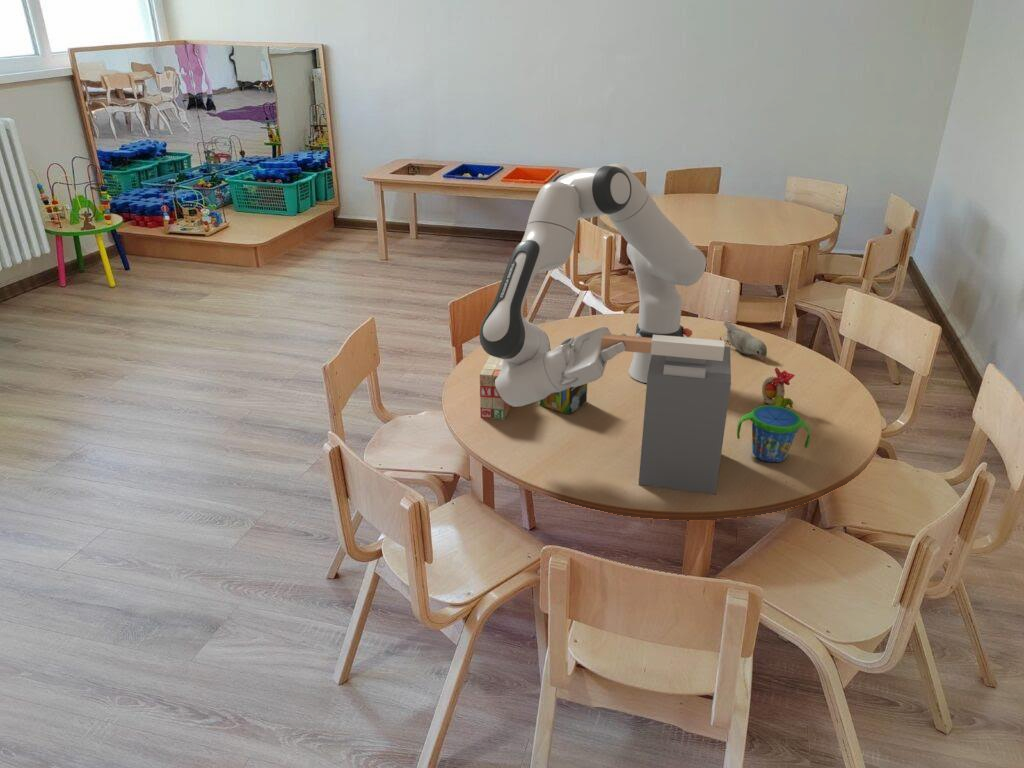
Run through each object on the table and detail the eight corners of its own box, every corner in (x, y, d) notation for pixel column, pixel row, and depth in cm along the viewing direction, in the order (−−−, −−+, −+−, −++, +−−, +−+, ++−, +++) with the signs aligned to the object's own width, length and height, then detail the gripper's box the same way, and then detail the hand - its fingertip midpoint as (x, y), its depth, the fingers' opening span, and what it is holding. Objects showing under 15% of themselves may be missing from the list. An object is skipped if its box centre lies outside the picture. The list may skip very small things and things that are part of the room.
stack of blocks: (497, 381, 210) (497, 339, 205) (520, 383, 209) (520, 341, 204) (480, 418, 191) (479, 373, 186) (505, 420, 190) (504, 375, 185)
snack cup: (806, 450, 177) (814, 411, 173) (804, 473, 168) (812, 433, 164) (736, 438, 182) (742, 399, 178) (731, 459, 173) (736, 420, 169)
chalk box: (557, 392, 204) (559, 340, 197) (587, 402, 199) (590, 349, 192) (538, 406, 197) (539, 352, 190) (569, 415, 192) (571, 361, 186)
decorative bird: (757, 364, 220) (761, 340, 217) (715, 346, 232) (718, 322, 229) (770, 360, 223) (774, 336, 219) (728, 342, 235) (731, 319, 232)
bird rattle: (756, 413, 198) (782, 414, 190) (749, 370, 197) (775, 369, 189) (774, 408, 200) (800, 409, 192) (767, 366, 199) (794, 365, 191)
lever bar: (600, 349, 157) (601, 336, 155) (602, 343, 159) (603, 330, 158) (722, 361, 151) (724, 347, 150) (722, 354, 154) (724, 340, 153)
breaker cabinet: (638, 484, 164) (648, 367, 152) (645, 442, 180) (655, 333, 168) (715, 494, 161) (732, 375, 149) (716, 451, 177) (731, 340, 165)
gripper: (549, 375, 152) (612, 348, 146) (567, 335, 170) (624, 310, 164) (564, 401, 154) (627, 375, 148) (580, 359, 171) (637, 335, 166)
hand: (625, 341), depth 156 cm, fingers closed on lever bar, 2 cm apart
